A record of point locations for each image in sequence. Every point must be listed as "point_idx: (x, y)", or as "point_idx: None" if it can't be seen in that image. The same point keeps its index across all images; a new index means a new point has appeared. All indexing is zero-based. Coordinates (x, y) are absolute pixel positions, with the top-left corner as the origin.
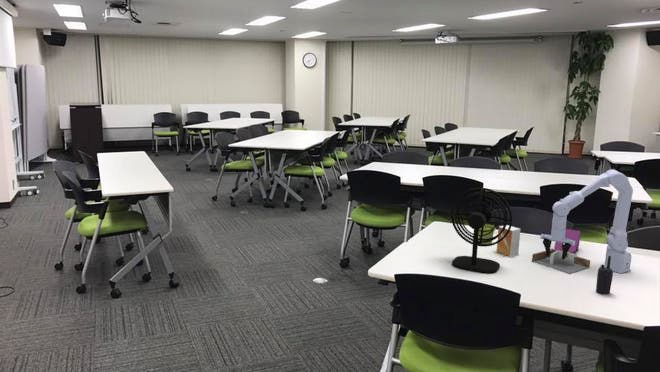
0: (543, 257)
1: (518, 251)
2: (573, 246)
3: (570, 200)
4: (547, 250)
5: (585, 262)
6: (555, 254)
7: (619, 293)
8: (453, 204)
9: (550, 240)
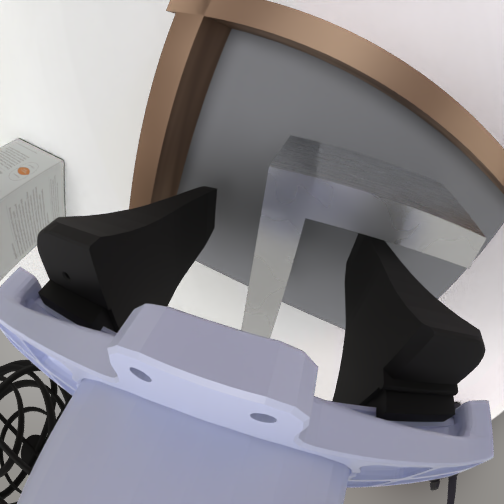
0: (182, 157)
1: (49, 170)
2: None
3: None
4: (184, 270)
5: None
6: (279, 305)
7: (483, 395)
8: None
9: (112, 306)
